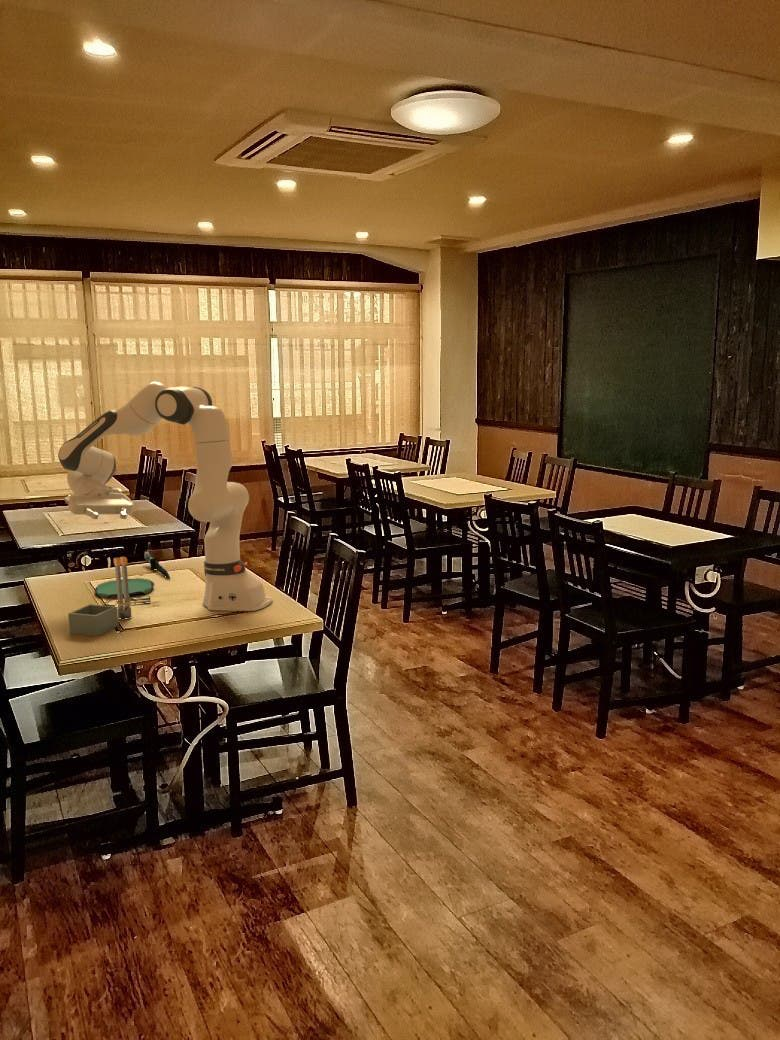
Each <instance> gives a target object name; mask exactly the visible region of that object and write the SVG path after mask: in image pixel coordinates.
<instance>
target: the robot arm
mask: <svg viewBox="0 0 780 1040" xmlns="http://www.w3.org/2000/svg"><path fill="white" fill-rule="evenodd" d="M212 400H213V399H212V397H211V395H210V394H209V392H208V391H207V390H206V389H204V388H201V387H198V386H185V385H181V386H172V387H171V386H170V387H168V386H167V385H166V384H164V383H163V382H160V381H151V382H149V383H148V384H146V385H145V386H143V387H142V388H141V389H140V390H139V391H138V392H137V393H135V394H134V395H133V396H132V398H130V399H129V400H128V402H126V403H125V404H123V405H121V406H120V407H118V408H115V409H112V410H108V411H106V412H104V413H102V414H101V415H100V416H98V418H96V419H95V420H94V421H92V422H91V423H90V424H89V425H88V426H87V427H85V428H84V429H83V430H82V431H80V432H79V433H78V434H76V435H75V436H74V437H73V438H71V439H68V440H67V441H65V442H64V443H63V444H62V445H61V446H60V448H59V450H58V454H57V457H58V461H59V463H60V465H61V466H62V468H63V469H64V470H68V472H67V476H66V481H67V484H68V486H69V488H70V490H71V492H72V493H73V494H72V495H68V496H65V497H64V500H63V501H64V502H65V503H67V504H68V506H67V507H68V508H69V511H70V513H71V514H73V515H75V516H76V515H83V516H84V515H85V516H87V517H90V518H91V519H92V520H98V519H99V515H119V519H121V520H127V517H128V515H131V514H133V511H134V507H135V504H134V502H133V501H132V500H131V499H130V497H128V496H127V495H126V494H124V493H123V490H122V489H121V488H118V487H112V486H110V485H109V486H108V485H106V484H107V483H108V482H110V480H111V479H112V478H113V476H114V475H115V473H116V471H117V462H116V458H115V456H114V454H113V453H112V452H109V451H107V450H104V449H103V448H102V449H101V448H99V447H96V446H94V445H96V444H97V443H98V442H100V441H101V440H102V439H103V438H104V437H106V436H110V435H128V436H143V435H146V434H148V433H149V432H150V431H152V430H153V429H154V428H155V427H156V426H157V424H158V423H159V422H160V421H161V420H162V419H163V420H166V421H168V422H171V423H175V424H180V425H186V424H188V425H189V426H190V427H191V429H192V432H193V442H194V448H195V449H194V450H195V460H196V476H195V483H194V484H195V485H194V489H193V491H192V494H191V495H190V497H189V498H188V502H187V507H188V512H189V514H190V515H191V516H192V518H193V519H194V520H196V521H198V522H203V523H209V526H208V530H207V531H206V534H204V539H203V541H204V559H205V560H204V562H203V565H204V566H203V568H204V577H205V589H204V595H203V600H202V605H203V606H204V607H206V608H207V610H209V611H224V612H225V611H230V612H232V611H234V612H238V611H239V612H254V611H259V610H261V609H264V608H266V607H268V606H269V605H270V604H272V603H273V598H272V596H268V595H266V593H265V587H264V585H263V583H262V581H260V580H259V579H257V578H256V577H254V576H253V575H252V574H251V573H250V572H248V571H247V568H246V566H247V565H248V561H245V562H243V560H242V559H241V552H240V550H241V549H240V535H241V534H240V532H241V527H242V521H243V516H244V512H245V510H246V508H247V506H248V504H249V503H250V502H249V501H250V494H249V492H248V489H247V488H246V487H245V486H244V485H243V484H242V483H239V482H236V481H228V478H229V473H230V471H231V468H232V467H233V456H232V455H233V454H232V445H231V438H230V430H229V427H228V423H227V419H226V417H225V413H224V411H223V410H222V409H221V408H220V407H218V406H215V405H213V401H212Z"/></svg>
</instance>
